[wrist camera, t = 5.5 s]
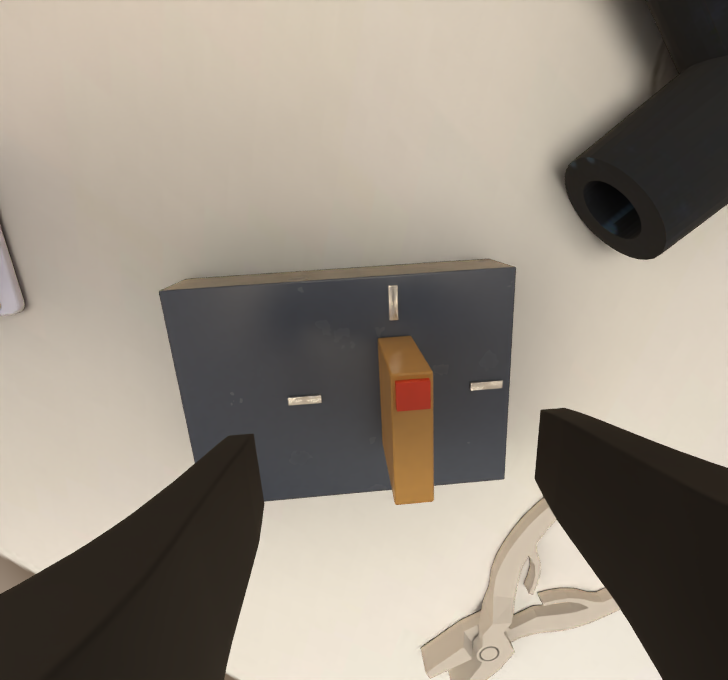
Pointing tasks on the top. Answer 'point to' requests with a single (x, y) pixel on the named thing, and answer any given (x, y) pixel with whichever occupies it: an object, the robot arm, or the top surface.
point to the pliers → (496, 620)
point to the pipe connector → (664, 143)
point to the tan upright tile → (407, 419)
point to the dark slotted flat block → (343, 368)
